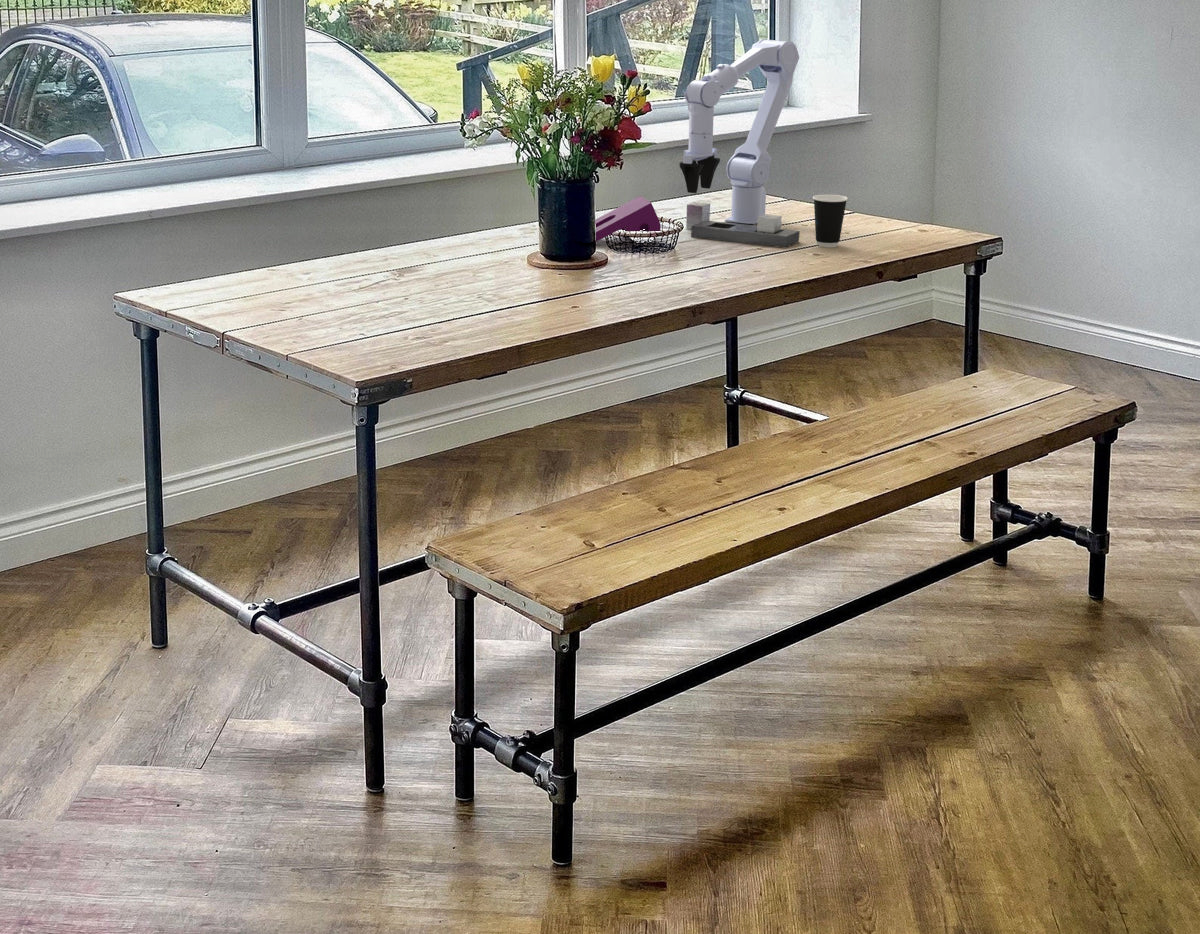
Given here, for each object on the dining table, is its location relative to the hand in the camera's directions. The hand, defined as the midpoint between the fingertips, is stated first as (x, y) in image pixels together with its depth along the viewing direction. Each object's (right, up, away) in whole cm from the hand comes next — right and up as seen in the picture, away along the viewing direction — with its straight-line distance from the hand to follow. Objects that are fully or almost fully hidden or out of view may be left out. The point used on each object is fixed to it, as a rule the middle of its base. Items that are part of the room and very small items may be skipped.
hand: (699, 190), depth 344 cm
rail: (+10, -13, -8) cm, 19 cm away
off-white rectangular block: (+15, -14, -11) cm, 24 cm away
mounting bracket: (-20, -14, -11) cm, 27 cm away
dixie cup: (+29, -16, -14) cm, 35 cm away
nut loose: (0, -9, +3) cm, 9 cm away
